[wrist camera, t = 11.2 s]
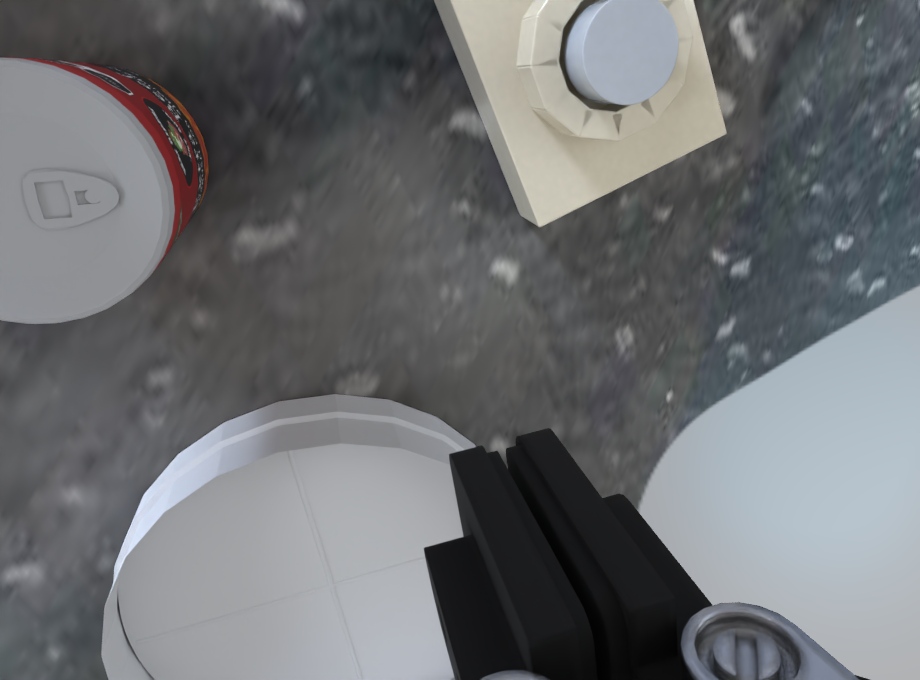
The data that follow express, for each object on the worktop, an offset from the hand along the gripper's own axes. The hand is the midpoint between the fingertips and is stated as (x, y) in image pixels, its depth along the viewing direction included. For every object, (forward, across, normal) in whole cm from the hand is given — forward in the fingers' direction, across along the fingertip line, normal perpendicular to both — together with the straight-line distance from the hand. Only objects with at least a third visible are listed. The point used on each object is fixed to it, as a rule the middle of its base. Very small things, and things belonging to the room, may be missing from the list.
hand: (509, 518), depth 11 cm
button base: (+24, -11, -6) cm, 27 cm away
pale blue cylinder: (+19, -11, -6) cm, 23 cm away
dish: (+24, +6, +19) cm, 31 cm away
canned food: (+24, +10, -5) cm, 27 cm away
